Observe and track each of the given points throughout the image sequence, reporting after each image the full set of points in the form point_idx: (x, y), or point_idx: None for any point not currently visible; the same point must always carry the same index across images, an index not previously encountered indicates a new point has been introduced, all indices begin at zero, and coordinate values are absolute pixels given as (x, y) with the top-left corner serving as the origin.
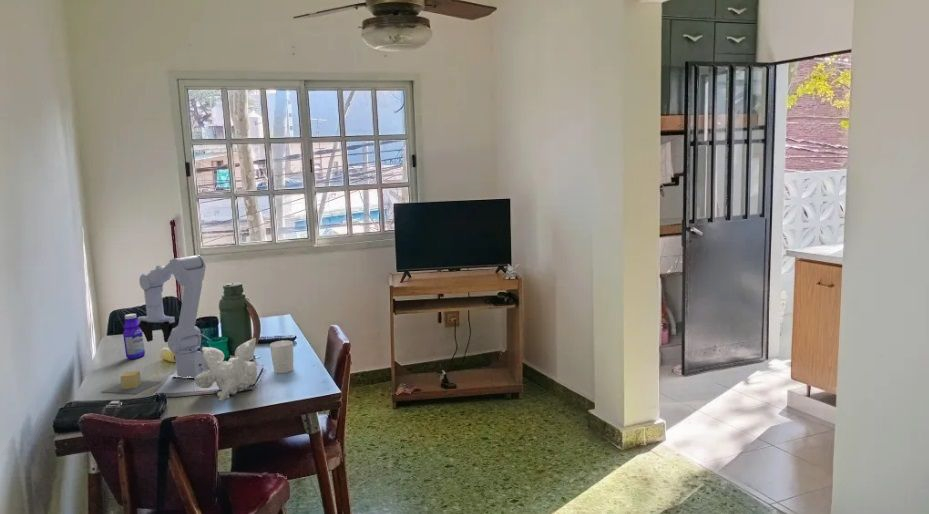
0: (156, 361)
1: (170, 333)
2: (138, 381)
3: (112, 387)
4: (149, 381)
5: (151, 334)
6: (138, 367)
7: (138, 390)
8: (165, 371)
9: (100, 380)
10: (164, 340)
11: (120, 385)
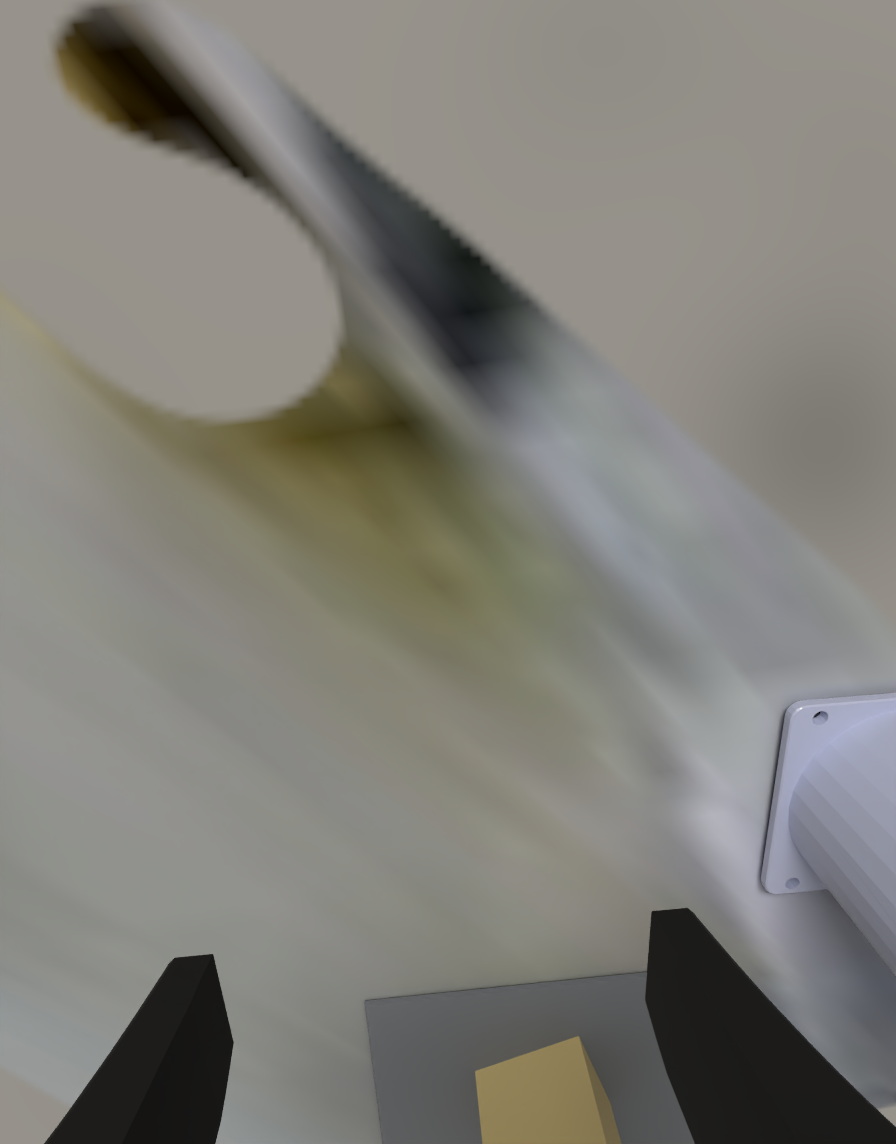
0: (71, 438)
1: (821, 1080)
2: (602, 1100)
3: (401, 1133)
4: (616, 990)
5: (159, 1124)
6: (76, 693)
7: (674, 1125)
8: (545, 742)
9: (93, 1046)
10: (665, 1050)
11: (428, 1095)
